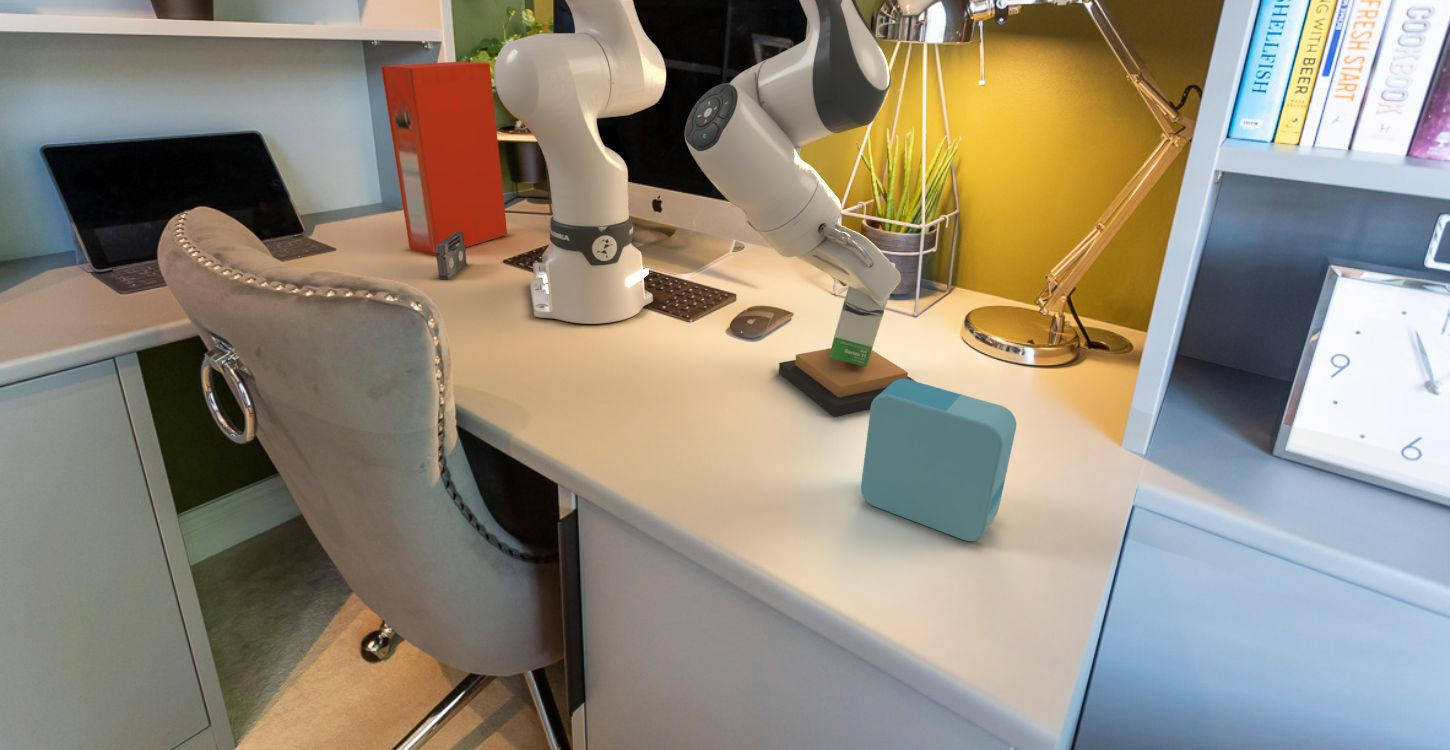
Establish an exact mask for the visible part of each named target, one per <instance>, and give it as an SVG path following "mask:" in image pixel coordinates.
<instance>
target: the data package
mask: <svg viewBox="0 0 1450 750" xmlns="http://www.w3.org/2000/svg"><path fill="white" fill-rule="evenodd" d="M915 381H916V380H915ZM915 381H912V380H908V379H898V380H896V381H894V382H893V383H892V384H891V385H889V386H888V387H887V388H886V389H885V390H884V391H882V392H881V393H880V394H879V395H878V396H877V397H876V398H875V399H874V400H873V401H872V404H871V409H869V417H868V426H867V436H866V443H865V449H864V452H865V453H864V459H863V465H862V474H861V475H862V476H861V483H860V493H861V495H862V497H863V498H864V500H865V501H866V502H867V503H868V504H869V505H870V506H872V507H874V508H877V509H880V510H883V511H886V512H888V513H891V514H892V515H893V514H894V515H896V516H899V517H901V518H904V519H907V520H909V521H912V522H915V523H917V524H920V525H923V526H925V527H928V528H930V529H934V530H936V531H938V532H941V533H943V534H947V535H949V536H952V537H954V538H957V539H960V540H963V541H966V542H975V541H978V540H980V539H981V538H982V537H984V535H985V533H986V532H987V530H988V528H989V527H990V525H991V524H992V522H993V521H994V519H995V517H996V516H997V515H998V512H999V509H1000V505H1001V500H1002V496H1003V490H1004V486H1005V482H1006V476H1007V472H1008V467H1009V463H1010V458H1011V454H1012V448H1013V445H1014V440H1015V436H1016V431H1017V419H1016V417H1015V415H1014V414H1013V413H1012V411H1011V410H1010V409H1008V408H1007V407H1005V406H1002V405H1000V404H996V403H993V402H989V401H987V400H982V399H979V398H975V397H972V396H969V395H965V394H961V393H957V392H954V391H951V390H947V389H943V388H941V387H936V386H933V385H930V384H926V383H922V382H919V381H916V382H915Z"/></svg>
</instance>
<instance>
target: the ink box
mask: <svg viewBox="0 0 1450 750" xmlns="http://www.w3.org/2000/svg"><path fill="white" fill-rule="evenodd" d="M891 263H892V264H893V266H894V267H895V268H896V263H894V262H891ZM887 303H888V301H887V302H886V303H885V304H884V305H883V306H879V305H877V304H876V303H874V302H872V301H871V299H870V298H869V297H868V296H867V295H866V294H864V293H862V292H861V291H859V290H857V289H855V288H853V287H851V286H849V285H848V288H847V290H846V294H845V298H844V301H843V303H842V307H841V310H840V314H839V318H838V320H837V323H836V324H837V325H836V328H835V332H834V336H833V339H832V343H831V352H830V357H831V358H834V359H837V360H841V361H845V362H848V363H852V364H856V365H860V366H863V367H867V364H868V361H869V358H870V354H871V351H872V350H873V347H874V345H875V341H876V338H877V335H878V332H879V329H880V326H881V323H882V319H883V316H884V313H885V309H886V307H887Z"/></svg>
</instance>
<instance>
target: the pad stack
mask: <svg viewBox="0 0 1450 750" xmlns="http://www.w3.org/2000/svg"><path fill="white" fill-rule="evenodd" d="M830 352H831V348H830V347H829V348H825V349H819V350H813V351H808V352H802V353H797V354H795V359H791V360H787V361H781V362H779V363H778V374H779V375H781V376H782V377H783V378H784V379H786V380H787V381H788V382H789V383H790V384H792V385H793V386H794V387H796V389H798V390H799V391H801V392H802V393H803V394H805V395H806V396H807V397H808V398H809V399H811V400H812V401H813V402H814V403H816V404H817V405H818V406H819V407H821V408H822V409H823V410H825V411H826V412H827V413H829V414H830V415H831V416H832V417H834V418H835V417H840V416H844V415H850V414H853V413H858V412H861V411H867V410H870V409H871V404H872V401H873V400H874V399H875V398H876V397H877V396H878V395H879V394H880V393H881V392H882V391H884V390H885V389H886V388H887V387H888V386H889V385H891V384H892V383H893V382H894V381H896V380H898V379H908V380H912V381H915V382H917V381H916V380H915V379H914V378H911V377H910V376H909V372H908V371H906V370H905V369H903V368H901V367H900V366H898V365H897V364H895V363H894V362H892V361H891V360H889V359H887V358H885V357H884V356H882V355H881V354H879V353H877V352H876V351H874V350H873V349H872V351H871V354H870V358H869V361H868V364H867V367H863V366H860V365H856V364H852V363H848V362H845V361H841V360H837V359H834V358H831V357H830Z"/></svg>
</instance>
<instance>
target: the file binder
mask: <svg viewBox="0 0 1450 750" xmlns="http://www.w3.org/2000/svg"><path fill="white" fill-rule="evenodd" d="M380 71H381V75H382V81H383V89H384V95H385V101H386V108H387V114H388V120H389V126H390V127H389V128H390V134H391V139H392V145H393V146H392V147H393V151H394V158H395V164H396V170H397V178H398V183H399V190H400V196H401V203H402V209H403V215H404V222H405V228H406V234H407V240H408V246H409V250H410V251H414V252H419V253H423V254H427V255H430V256H431V255H432V256H435V257H436V245H437V244H439V243H440V242H442V241H443V240H445V239H446V238H448V237H449V236H451V235H452V234H454V233H455V232H463V236H464V244H465V248H469V247H471V246H475V245H478V244H482V243H485V242H488V241H491V240H494V239H498V238H501V237H505V236H507V235H508V228H507V227H508V226H507V218H506V209H505V199H504V189H503V188H504V187H503V179H502V169H501V168H502V167H501V160H500V149H499V140H498V131H497V121H496V111H495V102H494V92H493V82H492V71H491V64H490V63H488V62H475V61H474V62H473V61H446V62H430V63H427V62H426V63H412V64H393V65H381V66H380Z"/></svg>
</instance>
